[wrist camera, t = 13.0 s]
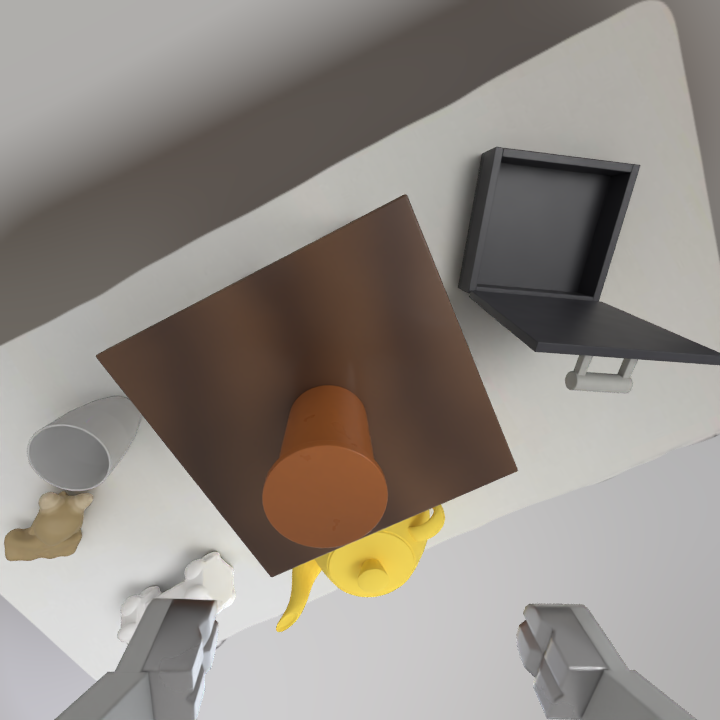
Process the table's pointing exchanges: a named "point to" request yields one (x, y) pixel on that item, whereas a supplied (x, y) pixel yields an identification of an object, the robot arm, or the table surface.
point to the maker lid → (590, 336)
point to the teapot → (367, 563)
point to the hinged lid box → (545, 224)
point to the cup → (84, 443)
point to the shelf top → (320, 376)
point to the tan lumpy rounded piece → (50, 529)
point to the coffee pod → (325, 472)
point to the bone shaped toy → (184, 591)
